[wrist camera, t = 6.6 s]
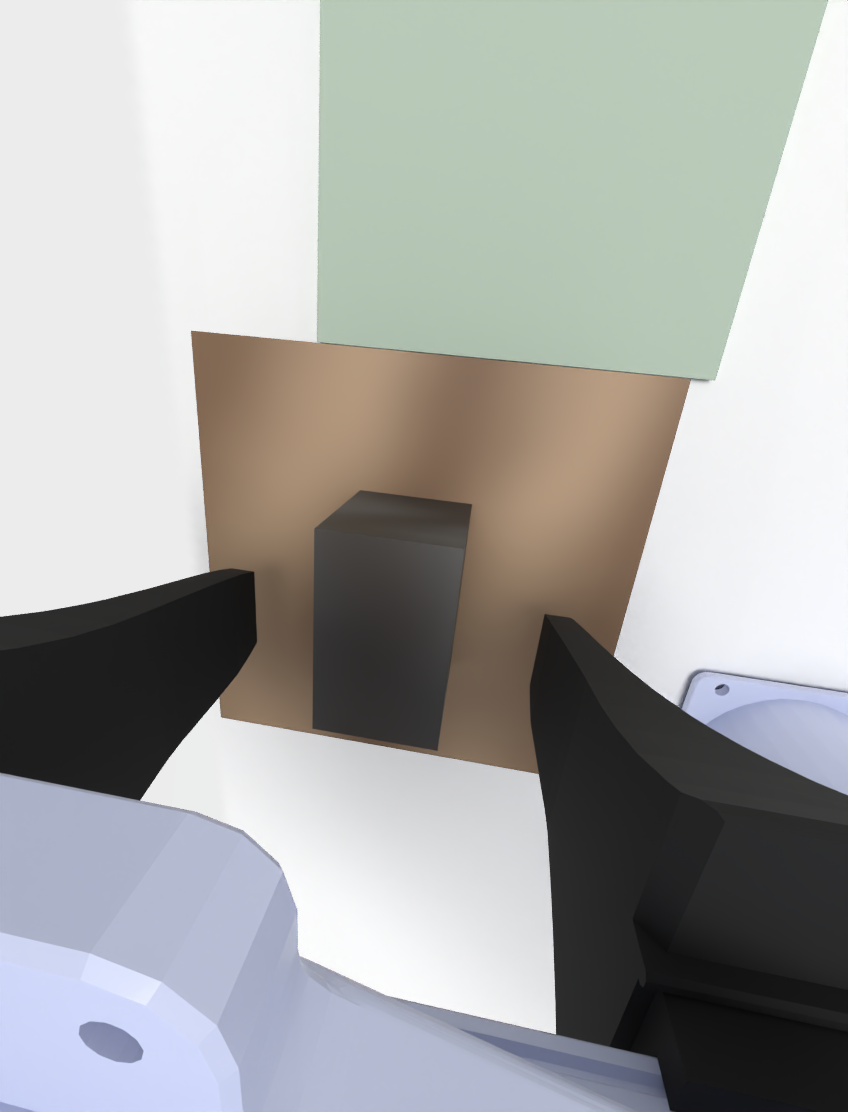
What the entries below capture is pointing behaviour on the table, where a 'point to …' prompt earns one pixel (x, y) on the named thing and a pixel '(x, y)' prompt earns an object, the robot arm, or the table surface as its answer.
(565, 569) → the walnut lid
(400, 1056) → the robot arm
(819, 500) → the table surface
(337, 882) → the table surface
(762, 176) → the sage mat
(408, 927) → the table surface
